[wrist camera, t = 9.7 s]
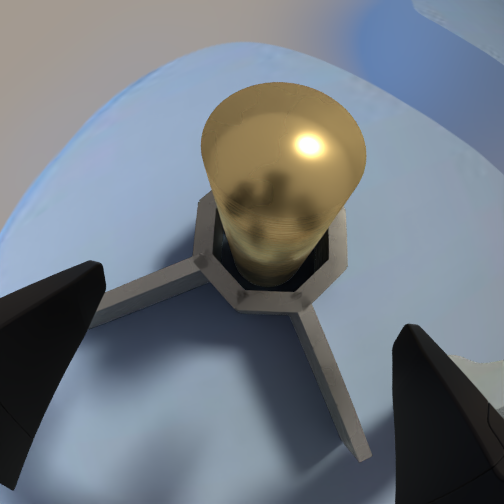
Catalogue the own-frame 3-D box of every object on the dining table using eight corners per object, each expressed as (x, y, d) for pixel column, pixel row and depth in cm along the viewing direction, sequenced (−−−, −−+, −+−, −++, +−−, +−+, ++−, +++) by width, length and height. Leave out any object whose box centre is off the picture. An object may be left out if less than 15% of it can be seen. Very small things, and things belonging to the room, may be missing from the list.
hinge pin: (265, 301, 19) (284, 256, 7) (219, 250, 20) (168, 138, 8) (315, 255, 20) (395, 151, 7) (269, 208, 20) (284, 64, 8)
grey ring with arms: (254, 508, 15) (254, 539, 11) (82, 321, 19) (49, 317, 15) (432, 346, 18) (465, 347, 14) (260, 164, 21) (262, 131, 17)
